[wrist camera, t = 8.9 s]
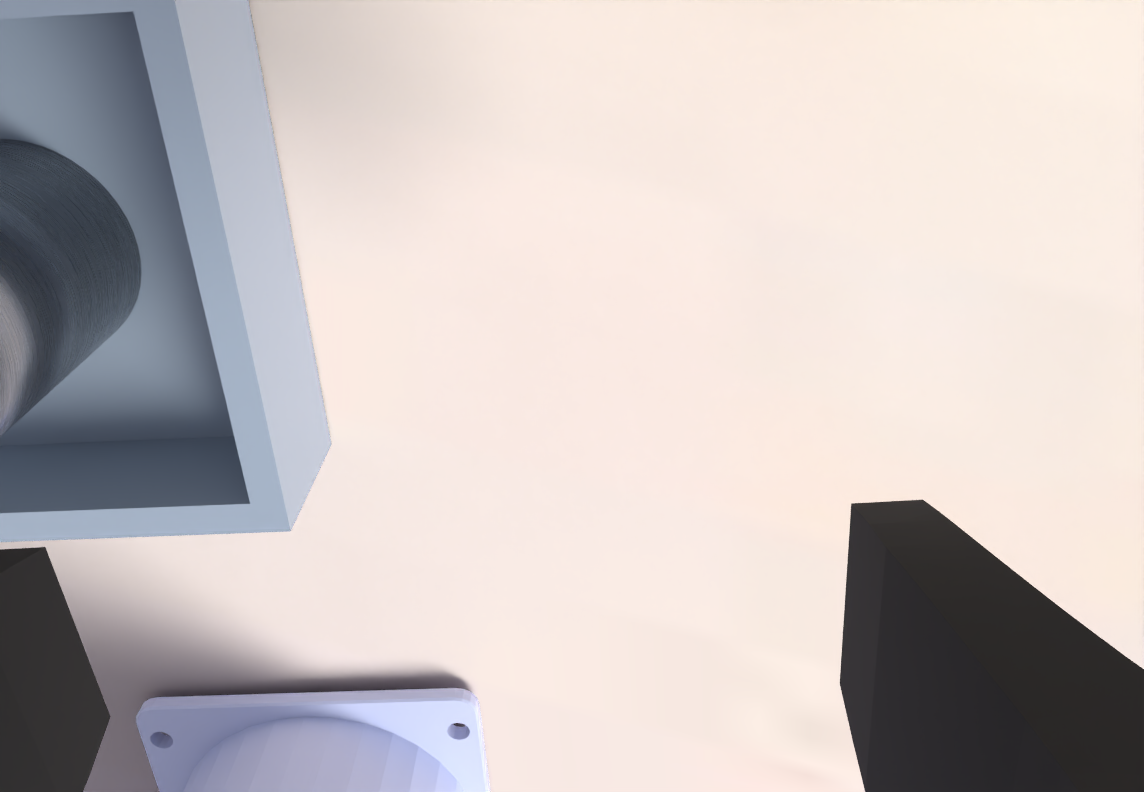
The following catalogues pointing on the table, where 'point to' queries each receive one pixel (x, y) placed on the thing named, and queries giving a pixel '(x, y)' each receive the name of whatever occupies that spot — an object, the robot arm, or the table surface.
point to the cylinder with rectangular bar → (56, 272)
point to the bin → (167, 280)
